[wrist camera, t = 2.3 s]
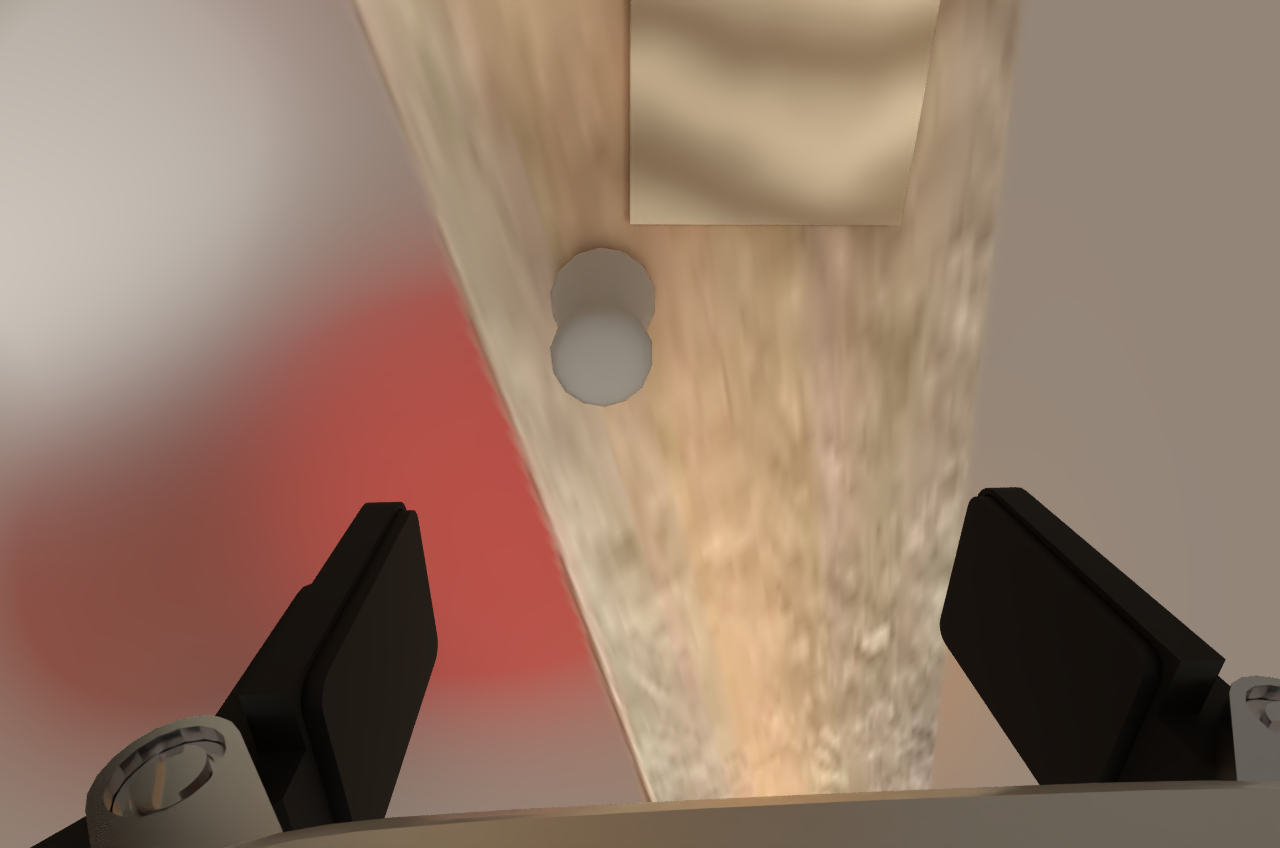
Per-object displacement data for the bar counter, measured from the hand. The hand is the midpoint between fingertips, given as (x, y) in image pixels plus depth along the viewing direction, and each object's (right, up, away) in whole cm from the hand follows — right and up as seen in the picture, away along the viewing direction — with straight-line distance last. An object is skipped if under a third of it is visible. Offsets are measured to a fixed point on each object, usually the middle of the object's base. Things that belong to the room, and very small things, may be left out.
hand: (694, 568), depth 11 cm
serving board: (+6, +22, +22) cm, 32 cm away
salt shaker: (-3, +10, +27) cm, 29 cm away
